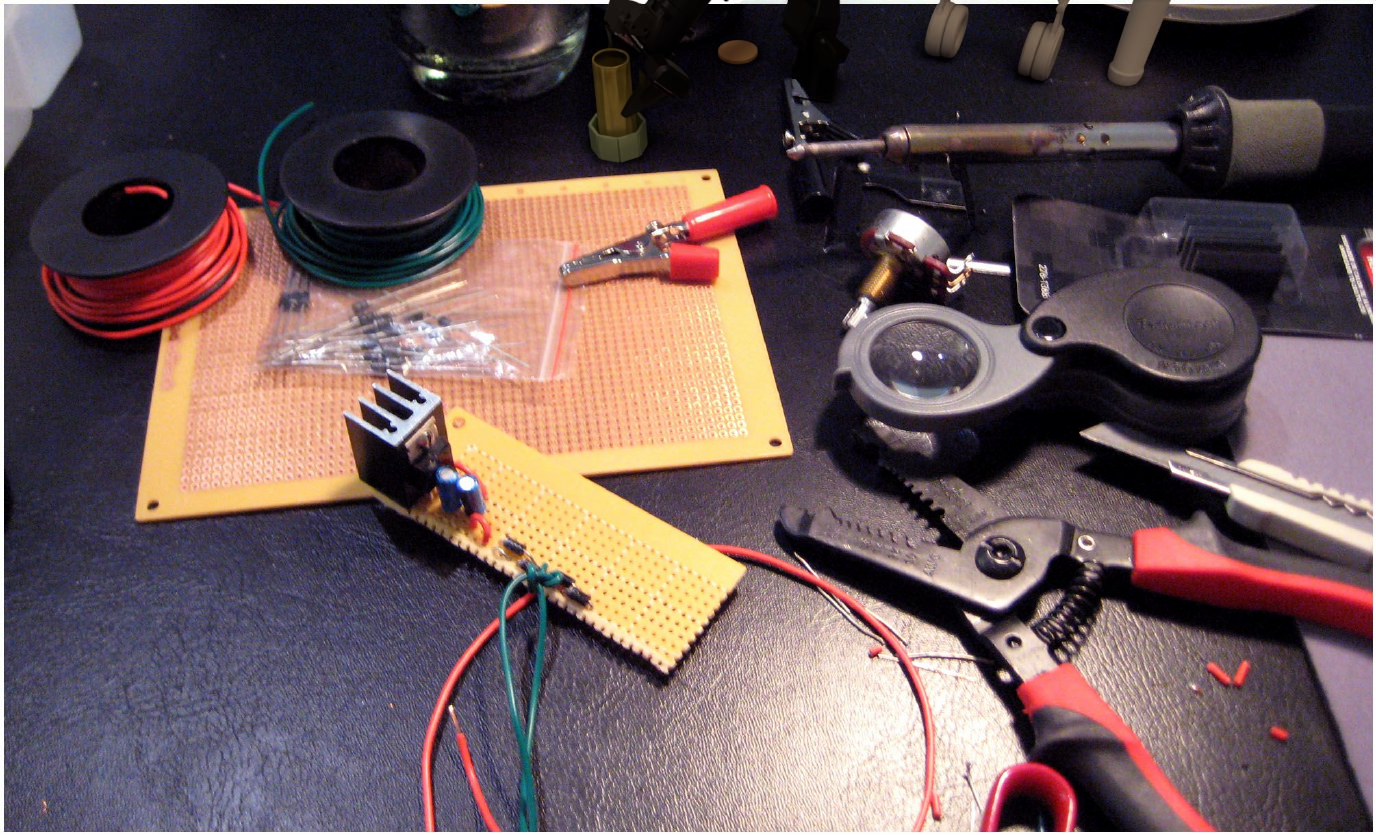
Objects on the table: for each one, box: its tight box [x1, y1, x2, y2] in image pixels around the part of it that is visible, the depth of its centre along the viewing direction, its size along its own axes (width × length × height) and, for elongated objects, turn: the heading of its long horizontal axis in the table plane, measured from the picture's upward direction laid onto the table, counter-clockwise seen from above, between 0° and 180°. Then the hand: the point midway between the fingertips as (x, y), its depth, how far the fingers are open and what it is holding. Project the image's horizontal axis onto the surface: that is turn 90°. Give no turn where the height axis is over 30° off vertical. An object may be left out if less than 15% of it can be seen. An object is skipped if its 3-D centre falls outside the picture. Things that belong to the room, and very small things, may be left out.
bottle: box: [1107, 0, 1172, 87], centre depth 137 cm, size 5×5×25 cm
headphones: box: [924, 0, 1071, 82], centre depth 143 cm, size 20×8×19 cm, turn 62°
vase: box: [591, 47, 637, 138], centre depth 134 cm, size 6×6×14 cm
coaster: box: [717, 39, 759, 65], centre depth 154 cm, size 7×7×1 cm
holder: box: [587, 111, 649, 163], centre depth 138 cm, size 8×8×4 cm
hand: (611, 100), depth 133 cm, fingers open, 9 cm apart
